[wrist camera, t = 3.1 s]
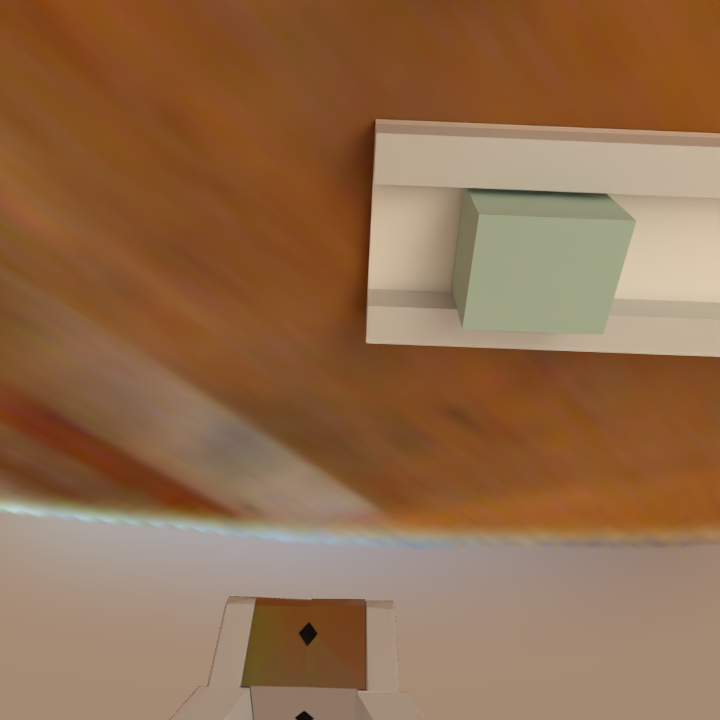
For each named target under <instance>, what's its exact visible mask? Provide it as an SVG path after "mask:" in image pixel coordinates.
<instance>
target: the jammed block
mask: <svg viewBox="0 0 720 720" xmlns="http://www.w3.org/2000/svg"><path fill="white" fill-rule="evenodd" d="M635 224H636V220H635V219H634V218H633V217H632V216H631V215H629V214H628V213H627V212H626V211H625V210H624V209H623V208H622V207H621V206H619V205H618V204H617V203H616V202H615V201H614V200H613V199H612V198H611V197H610V196H608V195H607V194H606V193H581V192H557V191H532V190H508V189H483V188H464V195H463V203H462V210H461V218H460V226H459V233H458V241H457V249H456V257H455V264H454V272H453V280H452V287H451V289H452V293H453V296H454V300H455V304H456V308H457V311H458V315H459V319H460V323H461V326H462V329H470V330H496V331H521V332H547V333H573V334H599V335H603V333H604V330H605V327H606V323H607V320H608V316H609V313H610V309H611V306H612V303H613V299H614V296H615V292H616V289H617V285H618V282H619V279H620V275H621V272H622V268H623V265H624V261H625V258H626V255H627V251H628V248H629V244H630V241H631V238H632V234H633V231H634V227H635Z"/></svg>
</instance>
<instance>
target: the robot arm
mask: <svg viewBox="0 0 720 720" xmlns="http://www.w3.org/2000/svg"><path fill="white" fill-rule="evenodd" d="M397 656H398V655H397V637H396V616H395V606H394V603H393V601H366V602H365V599H363V600H362V599H312V600H308V599H284V598H283V599H282V598H261V597H238V596H229V599H228V601H227V603H226V605H225V610H224V614H223V618H222V623H221V627H220V632H219V636H218V641H217V645H216V649H215V654H214V659H213V663H212V667H211V672H210V676H209V681H208V685H207V686H199V687H198V688H197V689H196V690H195V691H194V692H193V694H192V695H191V696H190V697H189V698H188V699H187V700H186V701H185V703H184V704H183V705H182V706H181V707H180V709H178V711H177V712H176V713H175V714H174V715H173V716H172V717H171V719H170V720H426V719H425V717H424V716H423V714H422V713H421V711H420V710H419V708H418V707H417V705H416V704H415V702H414V701H413V699H412V698H411V696H410V695H409V693H408V692H401V691H399V676H398V657H397Z"/></svg>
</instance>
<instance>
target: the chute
mask: <svg viewBox="0 0 720 720" xmlns="http://www.w3.org/2000/svg"><path fill="white" fill-rule="evenodd" d="M464 188H483V189H508V190H532V191H557V192H581V193H606V194H607V195H608V196H610V197H611V198H612V199H613V200H614V201H615V202H616V203H617V204H618V205H619V206H621V207H622V208H623V209H624V210H625V211H626V212H627V213H628V214H629V215H631V216H632V217H633V218H634V219H635V220H636V224H635V227H634V231H633V234H632V238H631V241H630V244H629V248H628V251H627V255H626V258H625V261H624V265H623V268H622V272H621V275H620V279H619V282H618V285H617V289H616V292H615V296H614V299H613V303H612V306H611V309H610V313H609V316H608V320H607V323H606V327H605V330H604V333H603V335H599V334H573V333H547V332H521V331H496V330H470V329H462V326H461V323H460V319H459V315H458V311H457V308H456V304H455V300H454V296H453V293H452V289H451V287H452V280H453V272H454V264H455V257H456V249H457V241H458V233H459V226H460V218H461V210H462V203H463V195H464ZM366 343H373V344H399V345H425V346H451V347H477V348H503V349H529V350H555V351H581V352H607V353H633V354H659V355H685V356H711V357H720V133H699V132H675V131H651V130H627V129H603V128H579V127H555V126H531V125H507V124H483V123H460V122H436V121H412V120H388V119H376V123H375V143H374V164H373V185H372V206H371V226H370V247H369V268H368V289H367V309H366Z"/></svg>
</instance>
